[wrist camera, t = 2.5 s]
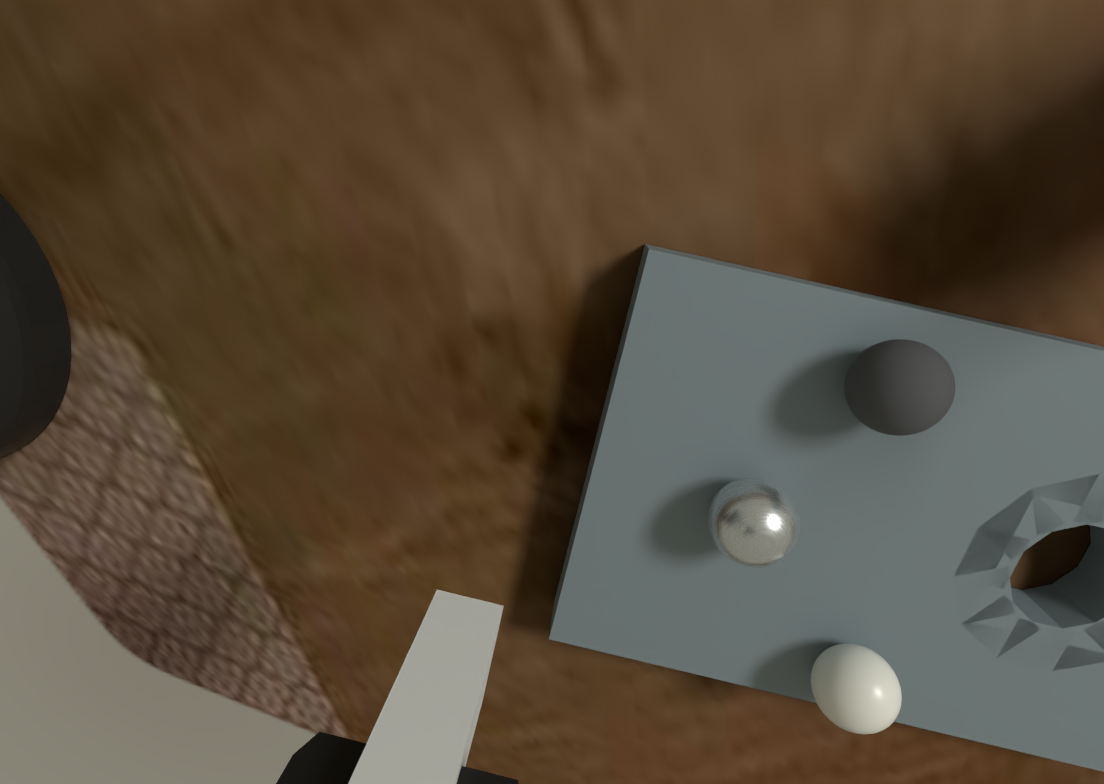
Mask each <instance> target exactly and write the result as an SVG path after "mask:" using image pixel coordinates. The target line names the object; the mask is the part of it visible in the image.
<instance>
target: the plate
mask: <svg viewBox="0 0 1104 784" xmlns="http://www.w3.org/2000/svg"><path fill="white" fill-rule="evenodd" d="M894 339H906V340H913V341H917V342H920V343H923V344H925V345H927V346H929V347H931V348H933V349H934V350H936V351H937V352H938V353H939V354H941V355H942V356H943V358H944V359H945V360H946V361H947V362H948V364H949V366H950V367H951V370H952V372H953V375H954V378H955V396H954V400H953V403H952V405H951V407H950V409H949V411H948V412H947V413H946V415H945V416H944V417H943V418H942V419H941V420H940V421H939V422H938V423H937V424H935V425H934V426H932V427H931V428H929V429H927V430H925V431H922V432H920V433H916V434H911V435H904V436H895V435H887V434H883V433H880V432H877V431H875V430H872V429H870V428H869V427H867V426H866V425H864V424H863V423H861V422H860V421H859V420H858V419H857V418H856V417H855V415H854V414H853V413H852V411H851V410H850V408H849V406H848V404H847V402H846V398H845V392H844V382H845V377H846V374H847V371H848V369H849V367H850V365H851V364H852V362H853V361H854V360H855V359H856V357H857V356H858V355H859V354H860V353H862V352H863V351H864V350H866V349H867V348H869V347H870V346H873V345H875V344H877V343H880V342H883V341H888V340H894ZM742 478H760V479H764V480H767V481H770V482H772V483H774V484H776V485H777V486H779V487H780V488H781V489H783V490H784V491H785V492H786V493H787V494H788V495H789V496H790V498H791V499H792V500H793V502H794V504H795V506H796V508H797V510H798V514H799V518H800V533H799V537H798V540H797V543H796V545H795V547H794V548H793V550H792V551H791V552H790V554H789V555H788V556H786V557H785V558H784V559H783V560H781V561H780V562H778V563H776V564H773V565H771V566H767V567H758V568H756V567H747V566H743V565H740V564H738V563H735V562H733V561H732V560H730V559H729V558H727V557H726V556H725V555H723V554H722V553H721V552H720V551H719V549H718V548H717V547H716V545H715V544H714V542H713V540H712V538H711V535H710V533H709V528H708V511H709V507H710V504H711V502H712V500H713V498H714V496H715V495H716V494H717V492H718V491H719V490H720V489H721V488H723V487H724V486H725V485H727V484H728V483H730V482H732V481H735V480H738V479H742ZM1087 524H1088V525H1089V526H1090V538H1091V544H1090V546H1089V547H1088V549H1087V551H1086V553H1085V554H1084V556H1083V558H1082V560H1081V561H1080V563H1079V565H1078V566H1077V567H1076V568H1075V569H1073V570H1072V571H1070V572H1069V573H1067V574H1066V575H1064V576H1063V577H1061V578H1060V579H1058V580H1057V581H1055V582H1054V583H1052V584H1049V585H1044V586H1039V587H1034V588H1029V589H1023V590H1020V589H1016V588H1011V584H1010V576H1011V574H1012V572H1013V570H1014V569H1015V567H1016V565H1017V563H1018V561H1019V559H1020V557H1021V556H1022V554H1023V552H1024V551H1025V550H1026V549H1028V548H1029V547H1031V546H1032V545H1034V544H1035V543H1037V542H1038V541H1039V540H1041V539H1042V538H1044V537H1045V536H1047V535H1048V534H1050V533H1051V532H1053V531H1058V530H1063V529H1068V528H1072V527H1077V526H1082V525H1087ZM549 639H550V640H554V641H558V642H563V643H567V644H571V645H575V646H579V647H584V648H588V649H592V650H596V651H600V652H605V653H609V654H613V655H617V656H621V657H625V658H630V659H634V660H638V661H642V662H646V663H651V664H655V665H659V666H663V667H667V668H672V669H676V670H680V671H684V672H688V673H692V674H697V675H701V676H705V677H709V678H713V679H718V680H722V681H726V682H730V683H734V684H739V685H743V686H747V687H751V688H755V689H759V690H764V691H768V692H772V693H776V694H780V695H785V696H789V697H793V698H797V699H801V700H806V701H810V702H814V703H816V701H815V698H814V695H813V692H812V688H811V672H812V668H813V665H814V663H815V661H816V659H817V658H818V657H819V655H820V654H821V653H822V652H824V651H825V650H826V649H828V648H830V647H832V646H835V645H839V644H856V645H860V646H864V647H866V648H868V649H870V650H872V651H874V652H876V653H877V654H878V655H880V656H881V657H882V658H883V659H884V660H885V661H886V662H887V663H888V664H889V665H890V667H891V668H892V669H893V671H894V672H895V674H896V676H897V678H898V681H899V684H900V687H901V694H902V702H901V708H900V711H899V714H898V716H897V717H896V719H895V720H894V722H898V723H902V724H906V725H910V726H914V727H919V728H923V729H927V730H931V731H935V732H940V733H944V734H948V735H952V736H956V737H961V738H965V739H969V740H973V741H977V742H981V743H986V744H990V745H994V746H998V747H1002V748H1007V749H1011V750H1015V751H1019V752H1023V753H1028V754H1032V755H1036V756H1040V757H1044V758H1048V759H1053V760H1057V761H1061V762H1065V763H1069V764H1074V765H1078V766H1082V767H1086V768H1090V769H1095V770H1099V771H1103V772H1104V347H1102V346H1098V345H1093V344H1089V343H1085V342H1080V341H1076V340H1071V339H1067V338H1062V337H1058V336H1053V335H1049V334H1044V333H1040V332H1035V331H1031V330H1027V329H1022V328H1018V327H1013V326H1009V325H1004V324H1000V323H995V322H991V321H986V320H982V319H977V318H973V317H969V316H964V315H960V314H955V313H951V312H946V311H942V310H937V309H933V308H928V307H924V306H919V305H915V304H911V303H906V302H902V301H897V300H893V299H888V298H884V297H879V296H875V295H870V294H866V293H861V292H857V291H853V290H848V289H844V288H839V287H835V286H830V285H826V284H821V283H817V282H812V281H808V280H803V279H799V278H795V277H790V276H786V275H781V274H777V273H772V272H768V271H763V270H759V269H754V268H750V267H745V266H741V265H737V264H732V263H728V262H723V261H719V260H714V259H710V258H705V257H701V256H696V255H692V254H687V253H683V252H679V251H674V250H670V249H665V248H661V247H656V246H652V245H647V244H645V246H644V250H643V254H642V258H641V262H640V266H639V270H638V274H637V278H636V281H635V285H634V289H633V293H632V297H631V301H630V305H629V309H628V313H627V317H626V321H625V325H624V329H623V333H622V337H621V340H620V344H619V348H618V352H617V356H616V360H615V364H614V368H613V372H612V376H611V380H610V384H609V388H608V392H607V396H606V400H605V403H604V407H603V411H602V415H601V419H600V423H599V427H598V431H597V435H596V439H595V443H594V447H593V451H592V455H591V459H590V462H589V466H588V470H587V474H586V478H585V482H584V486H583V490H582V494H581V498H580V502H579V506H578V510H577V514H576V518H575V522H574V525H573V529H572V533H571V537H570V541H569V545H568V549H567V553H566V557H565V561H564V565H563V569H562V573H561V577H560V581H559V585H558V588H557V592H556V596H555V600H554V605H553V613H552V620H551V627H550V635H549Z"/></svg>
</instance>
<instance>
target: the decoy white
mask: <svg viewBox="0 0 1104 784" xmlns="http://www.w3.org/2000/svg"><path fill="white" fill-rule="evenodd" d="M811 688H812V692H813V695H814V698H815V701H816V703H817V704H818V706H819V708H820V709H821V711H822V712H823V713H824V714H825V716H826V717H827V718H828V719H829V720H831V721H832V722H833V723H835V724H836V725H837V726H839V727H841V728H843V729H845V730H847V731H850V732H853V733H857V734H873V733H877V732H880V731H882V730H884V729H886V728H887V727H889V726H890V725H891V724H892V723H893V722H894V720H895V719H896V717H897V716H898V714H899V711H900V708H901V702H902V694H901V687H900V684H899V681H898V678H897V676H896V674H895V672H894V671H893V669H892V668H891V667H890V665H889V664H888V663H887V662H886V661H885V660H884V659H883V658H882V657H881V656H880V655H878V654H877V653H876V652H874V651H872V650H870V649H868V648H866V647H864V646H860V645H856V644H839V645H835V646H832V647H830V648H828V649H826V650H825V651H824V652H822V653H821V654H820V655H819V657H818V658H817V659H816V661H815V663H814V665H813V668H812V672H811Z"/></svg>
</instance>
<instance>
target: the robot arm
mask: <svg viewBox="0 0 1104 784" xmlns="http://www.w3.org/2000/svg"><path fill="white" fill-rule="evenodd" d="M70 362H71V340H70V330H69V324H68V318H67V313H66V309H65V305H64V301H63V298H62V295H61V292H60V289H59V286H58V283H57V281H56V278H55V276H54V274H53V271H52V269H51V267H50V265H49V263H48V261H47V259H46V257H45V255H44V253H43V251H42V249H41V248H40V246H39V244H38V243H37V241H36V239H35V238H34V236H33V235H32V233H31V232H30V230H29V229H28V227H27V226H26V225H25V223H24V222H23V220H22V219H21V218H20V216H19V215H18V214H17V213H16V212H15V210H14V209H13V208H12V207H11V206H10V204H9V203H8V202H7V201H6V200H5V199H4V198H3V197H2V196H1V195H0V458H1V457H3V456H5V455H8V454H10V453H12V452H14V451H16V450H18V449H20V448H22V447H23V446H25V445H27V444H28V443H29V442H31V441H32V440H33V439H35V438H36V437H37V436H38V435H39V434H40V433H41V432H42V431H43V430H44V429H45V428H46V426H47V425H48V424H49V423H50V421H51V420H52V418H53V417H54V415H55V413H56V412H57V410H58V408H59V406H60V404H61V401H62V399H63V396H64V393H65V390H66V387H67V382H68V378H69V372H70ZM503 607H504V606H502V605H498V604H494V603H490V602H486V601H481V600H477V599H473V598H469V597H465V596H461V595H457V594H453V593H449V592H445V591H441V590H437V591H436V593H435V595H434V598H433V600H432V602H431V604H430V606H429V608H428V611H427V613H426V615H425V617H424V619H423V622H422V624H421V626H420V628H419V630H418V632H417V635H416V637H415V639H414V641H413V643H412V646H411V648H410V650H409V652H408V654H407V656H406V659H405V661H404V663H403V665H402V667H401V670H400V672H399V674H398V676H397V678H396V680H395V683H394V685H393V687H392V689H391V691H390V694H389V696H388V698H387V700H386V702H385V704H384V707H383V709H382V711H381V713H380V715H379V718H378V720H377V722H376V724H375V726H374V728H373V731H372V733H371V735H370V737H369V739H368V742H367V744H366V743H362V742H358V741H354V740H350V739H346V738H342V737H338V736H334V735H330V734H326V733H322V732H319V733H318V734H317V735H315V736H314V737H313V738H312V739H311V740H310V741H308V742H307V743H306V744H305V745H304V746H303V747H302V748H300V749H299V750H298V751H297V752H296V753H295V754H293V756H292V758H291V759H290V761H289V763H288V764H287V766H286V768H285V770H284V771H283V773H282V775H281V776H280V778H279V780H278V782H277V783H276V784H518V780H515V779H512V778H508V777H504V776H500V775H496V774H492V773H488V772H484V771H480V770H476V769H472V768H468V767H465V765H466V762H467V758H468V754H469V750H470V747H471V743H472V739H473V735H474V731H475V728H476V724H477V720H478V716H479V712H480V709H481V705H482V701H483V696H484V692H485V687H486V683H487V678H488V674H489V670H490V665H491V661H492V656H493V652H494V647H495V643H496V638H497V634H498V629H499V625H500V620H501V616H502V611H503Z"/></svg>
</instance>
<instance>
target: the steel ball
mask: <svg viewBox="0 0 1104 784" xmlns="http://www.w3.org/2000/svg"><path fill="white" fill-rule="evenodd" d="M708 528H709V533H710V535H711V538H712V540H713V542H714V544H715V545H716V547H717V548H718V549H719V551H720V552H721V553H722V554H723V555H725V556H726V557H727V558H729V559H730V560H732V561H733V562H735V563H738V564H740V565H743V566H747V567H756V568H758V567H767V566H771V565H773V564H776V563H778V562H780V561H781V560H783V559H784V558H785V557H786V556H788V555H789V554H790V552H791V551H792V550H793V548H794V547H795V545H796V543H797V540H798V537H799V533H800V518H799V514H798V510H797V508H796V506H795V504H794V502H793V500H792V499H791V498H790V496H789V495H788V494H787V493H786V492H785V491H784V490H783V489H781V488H780V487H779V486H777V485H776V484H774V483H772V482H770V481H767V480H764V479H760V478H742V479H738V480H735V481H732V482H730V483H728V484H727V485H725V486H724V487H723V488H721V489H720V490H719V491H718V492H717V494H716V495H715V496H714V498H713V500H712V502H711V504H710V507H709V511H708Z"/></svg>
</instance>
